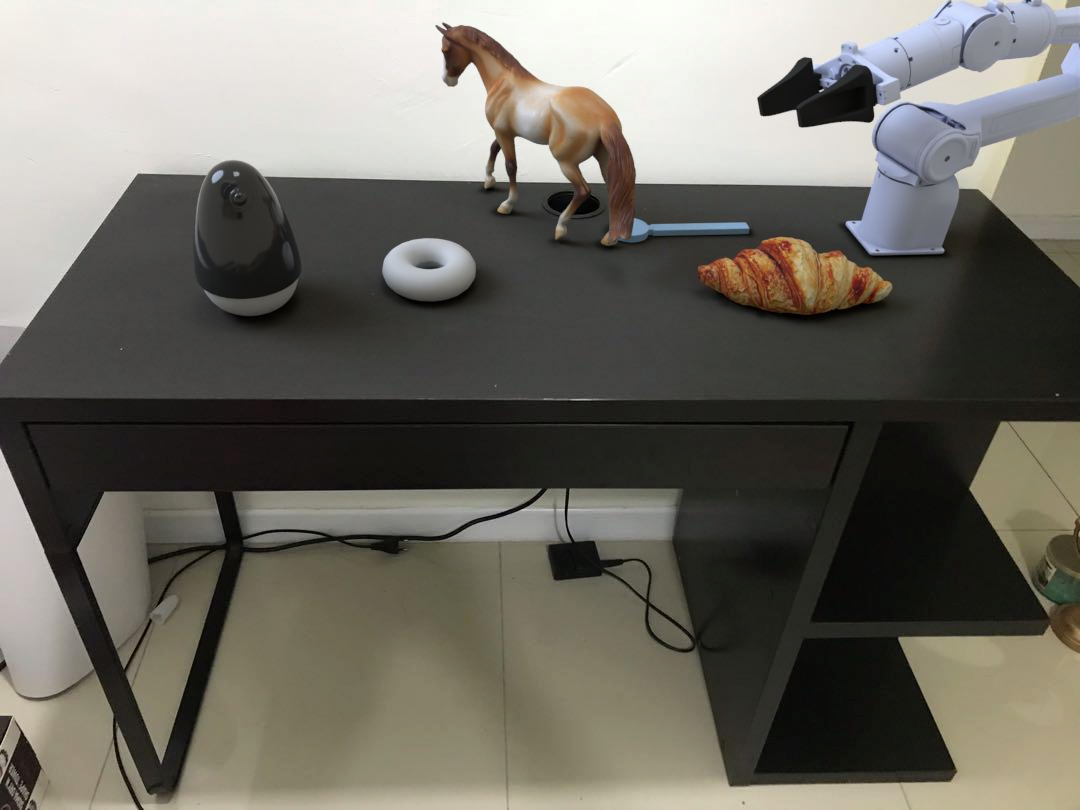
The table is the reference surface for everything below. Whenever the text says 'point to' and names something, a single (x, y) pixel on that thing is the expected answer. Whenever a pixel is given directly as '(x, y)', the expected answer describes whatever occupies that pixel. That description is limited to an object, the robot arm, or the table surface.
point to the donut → (429, 269)
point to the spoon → (684, 229)
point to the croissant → (793, 278)
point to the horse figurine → (546, 126)
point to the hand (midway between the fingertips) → (778, 112)
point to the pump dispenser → (243, 242)
